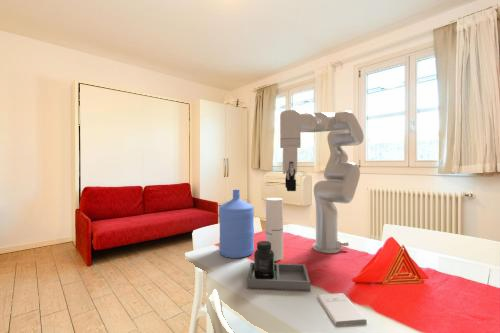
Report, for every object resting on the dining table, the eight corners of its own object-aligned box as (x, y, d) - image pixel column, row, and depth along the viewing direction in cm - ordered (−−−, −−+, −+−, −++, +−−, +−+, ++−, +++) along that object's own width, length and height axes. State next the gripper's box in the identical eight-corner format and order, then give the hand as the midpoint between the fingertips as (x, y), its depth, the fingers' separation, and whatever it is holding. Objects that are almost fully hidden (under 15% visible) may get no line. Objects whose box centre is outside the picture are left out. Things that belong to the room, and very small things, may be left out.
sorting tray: (304, 272, 90) (304, 264, 90) (310, 291, 77) (310, 282, 77) (250, 270, 92) (250, 262, 92) (247, 288, 79) (247, 279, 79)
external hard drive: (335, 327, 62) (317, 299, 74) (366, 325, 62) (343, 297, 75) (335, 321, 62) (317, 294, 74) (366, 319, 62) (343, 292, 75)
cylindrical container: (282, 261, 100) (282, 200, 99) (265, 260, 101) (264, 200, 101) (283, 254, 107) (283, 197, 106) (267, 253, 108) (267, 197, 108)
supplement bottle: (278, 277, 85) (278, 242, 85) (265, 284, 80) (265, 248, 80) (263, 270, 90) (263, 238, 90) (250, 277, 85) (250, 243, 85)
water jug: (261, 253, 109) (260, 190, 108) (230, 262, 100) (229, 193, 99) (242, 243, 122) (241, 187, 121) (213, 250, 113) (212, 189, 112)
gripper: (279, 145, 101) (279, 186, 102) (281, 142, 84) (281, 192, 84) (298, 145, 100) (298, 186, 101) (303, 142, 83) (303, 192, 84)
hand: (290, 189), depth 93 cm, fingers open, 9 cm apart
